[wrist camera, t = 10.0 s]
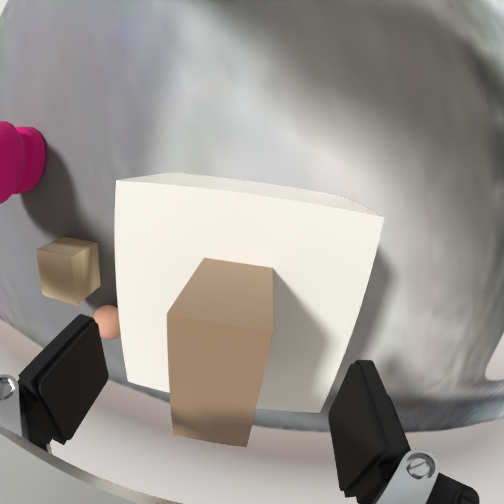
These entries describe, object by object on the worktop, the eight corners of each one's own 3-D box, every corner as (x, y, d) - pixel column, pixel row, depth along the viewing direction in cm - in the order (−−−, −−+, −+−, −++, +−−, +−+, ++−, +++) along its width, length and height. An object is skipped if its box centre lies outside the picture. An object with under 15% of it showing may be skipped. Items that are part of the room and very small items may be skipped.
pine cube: (64, 236, 21) (36, 249, 18) (98, 242, 21) (71, 257, 18) (68, 277, 23) (42, 294, 19) (101, 285, 23) (76, 305, 19)
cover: (172, 172, 19) (42, 195, 7) (341, 196, 19) (445, 251, 7) (165, 319, 23) (95, 438, 10) (307, 341, 23) (329, 479, 10)
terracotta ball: (101, 296, 23) (84, 311, 20) (129, 302, 23) (114, 319, 20) (104, 323, 24) (89, 340, 21) (132, 331, 24) (118, 349, 21)
